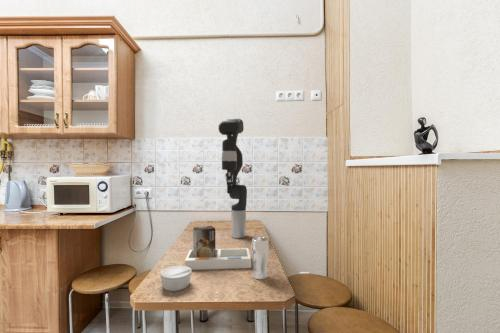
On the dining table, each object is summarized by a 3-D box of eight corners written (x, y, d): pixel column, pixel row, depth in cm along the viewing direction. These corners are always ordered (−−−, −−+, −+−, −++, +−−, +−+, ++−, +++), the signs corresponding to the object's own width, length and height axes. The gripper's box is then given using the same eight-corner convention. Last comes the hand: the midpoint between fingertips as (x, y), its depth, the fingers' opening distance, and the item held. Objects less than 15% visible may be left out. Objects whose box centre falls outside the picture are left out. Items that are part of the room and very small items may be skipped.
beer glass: (250, 273, 102) (250, 236, 103) (267, 272, 103) (267, 236, 103) (252, 280, 95) (252, 241, 96) (269, 279, 96) (270, 241, 96)
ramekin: (183, 294, 85) (183, 278, 85) (154, 291, 87) (154, 276, 87) (196, 280, 96) (196, 266, 96) (169, 277, 98) (169, 264, 98)
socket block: (190, 257, 119) (190, 249, 120) (248, 256, 122) (248, 247, 122) (184, 270, 105) (184, 259, 105) (250, 267, 108) (251, 258, 108)
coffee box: (211, 258, 119) (212, 225, 119) (215, 263, 113) (216, 228, 113) (192, 261, 115) (193, 227, 115) (195, 266, 109) (196, 230, 109)
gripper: (222, 160, 131) (222, 191, 131) (221, 159, 117) (221, 194, 117) (236, 160, 132) (236, 191, 132) (237, 159, 118) (237, 193, 117)
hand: (229, 192), depth 124 cm, fingers open, 8 cm apart
